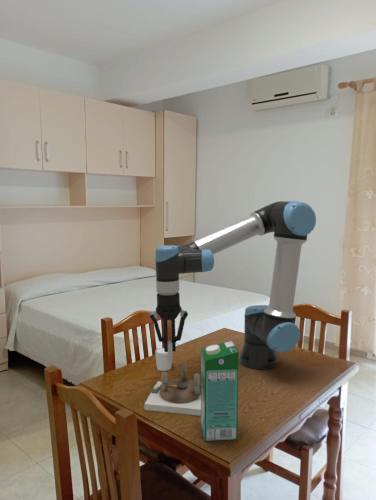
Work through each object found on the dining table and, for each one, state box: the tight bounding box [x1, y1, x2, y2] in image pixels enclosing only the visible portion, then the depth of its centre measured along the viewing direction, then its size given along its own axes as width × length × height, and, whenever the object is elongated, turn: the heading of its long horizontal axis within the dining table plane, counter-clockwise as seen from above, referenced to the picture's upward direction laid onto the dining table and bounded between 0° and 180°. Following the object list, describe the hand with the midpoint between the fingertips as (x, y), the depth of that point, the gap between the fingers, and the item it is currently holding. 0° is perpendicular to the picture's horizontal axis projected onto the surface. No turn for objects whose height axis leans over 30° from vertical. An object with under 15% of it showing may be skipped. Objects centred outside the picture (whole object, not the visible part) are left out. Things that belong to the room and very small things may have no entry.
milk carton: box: [200, 340, 240, 442], centre depth 112 cm, size 9×9×25 cm
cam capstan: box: [160, 361, 201, 403], centre depth 131 cm, size 14×14×8 cm
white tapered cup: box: [154, 347, 173, 372], centre depth 156 cm, size 7×7×7 cm
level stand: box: [143, 380, 201, 417], centre depth 130 cm, size 20×16×4 cm
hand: (170, 360), depth 136 cm, fingers closed
